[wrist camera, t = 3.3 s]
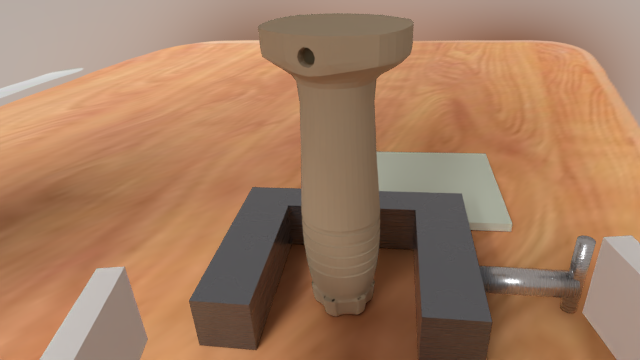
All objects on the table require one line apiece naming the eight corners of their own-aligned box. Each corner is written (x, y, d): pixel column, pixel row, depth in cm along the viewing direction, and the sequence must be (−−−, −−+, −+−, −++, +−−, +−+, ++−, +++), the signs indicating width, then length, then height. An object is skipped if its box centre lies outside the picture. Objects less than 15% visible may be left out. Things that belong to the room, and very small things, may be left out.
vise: (199, 344, 24) (183, 278, 22) (257, 223, 33) (250, 169, 31) (609, 379, 21) (636, 306, 19) (542, 235, 31) (555, 176, 28)
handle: (314, 260, 29) (297, 12, 22) (412, 289, 27) (428, 16, 19) (272, 309, 26) (235, 31, 19) (380, 350, 23) (385, 39, 16)
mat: (347, 224, 33) (347, 217, 32) (359, 157, 42) (359, 151, 42) (511, 231, 31) (512, 224, 31) (484, 159, 41) (485, 153, 40)
